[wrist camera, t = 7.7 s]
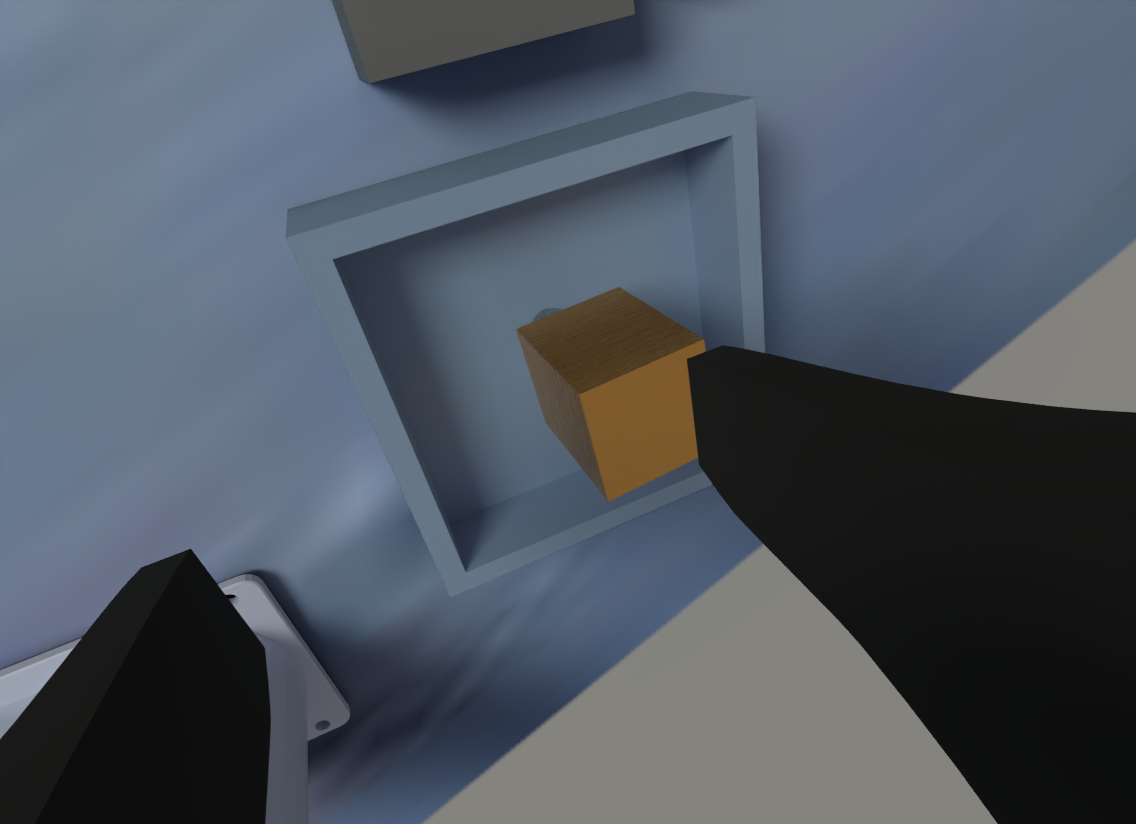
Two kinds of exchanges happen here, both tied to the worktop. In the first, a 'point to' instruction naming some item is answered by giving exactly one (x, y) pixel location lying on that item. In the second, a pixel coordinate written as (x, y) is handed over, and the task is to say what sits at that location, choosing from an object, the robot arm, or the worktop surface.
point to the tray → (529, 308)
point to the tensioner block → (456, 29)
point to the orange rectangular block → (615, 387)
